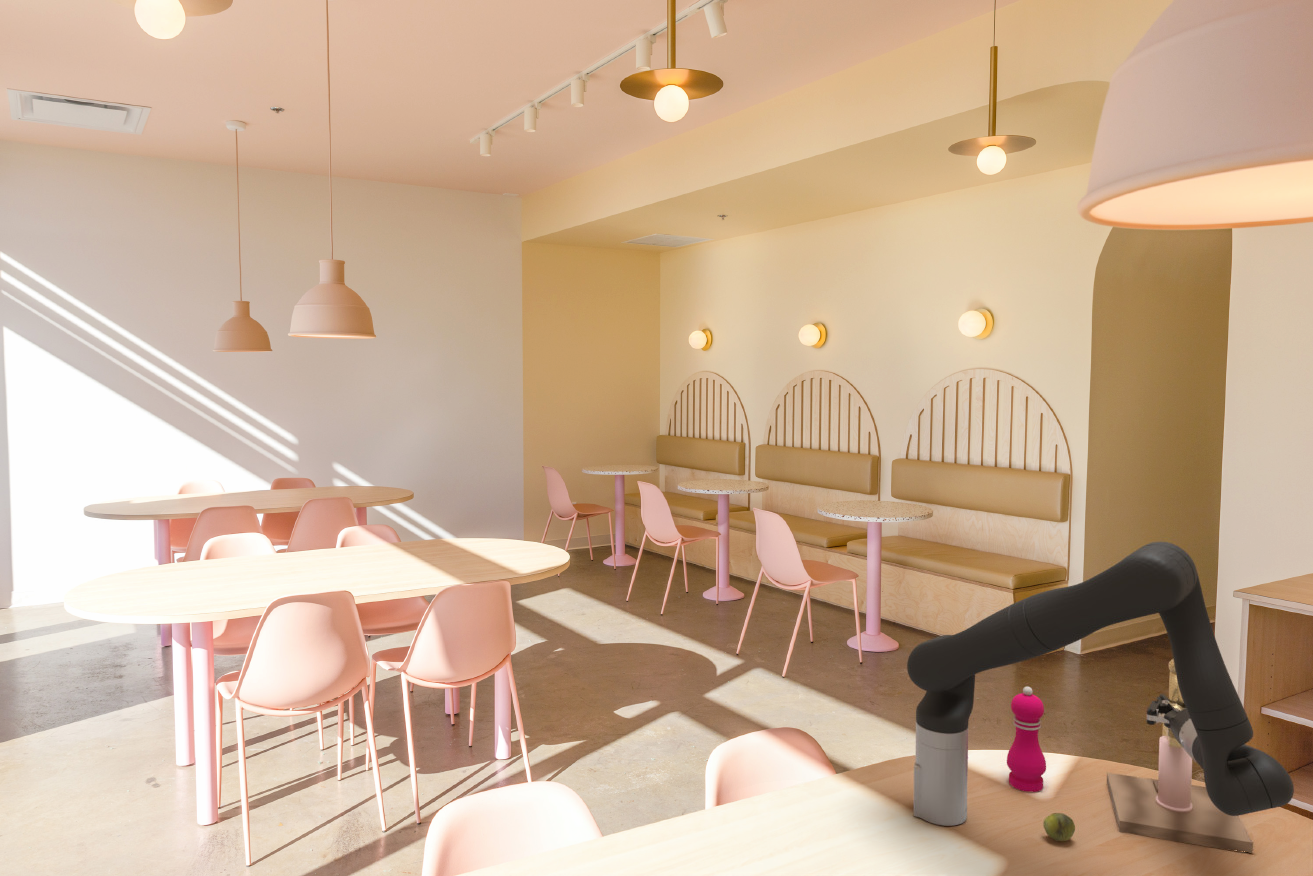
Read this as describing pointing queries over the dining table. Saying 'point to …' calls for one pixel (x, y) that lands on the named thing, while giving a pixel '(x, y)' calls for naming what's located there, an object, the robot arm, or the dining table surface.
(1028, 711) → the pepper mill
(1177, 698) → the brass crank handle
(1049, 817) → the lime
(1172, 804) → the cover
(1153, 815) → the base
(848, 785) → the dining table surface
